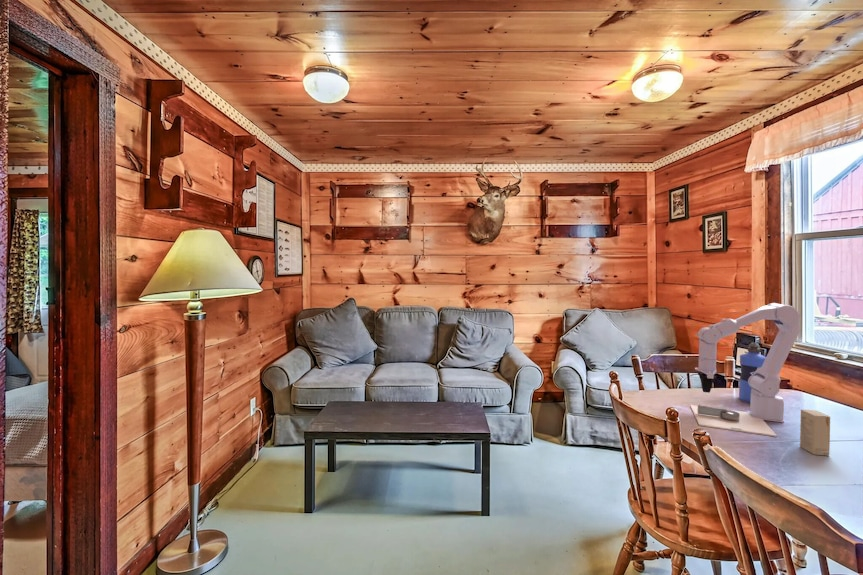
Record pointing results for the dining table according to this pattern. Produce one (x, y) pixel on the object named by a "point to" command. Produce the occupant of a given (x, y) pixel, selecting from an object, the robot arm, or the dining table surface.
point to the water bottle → (749, 370)
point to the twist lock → (718, 412)
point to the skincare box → (815, 432)
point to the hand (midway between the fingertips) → (706, 391)
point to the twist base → (734, 423)
